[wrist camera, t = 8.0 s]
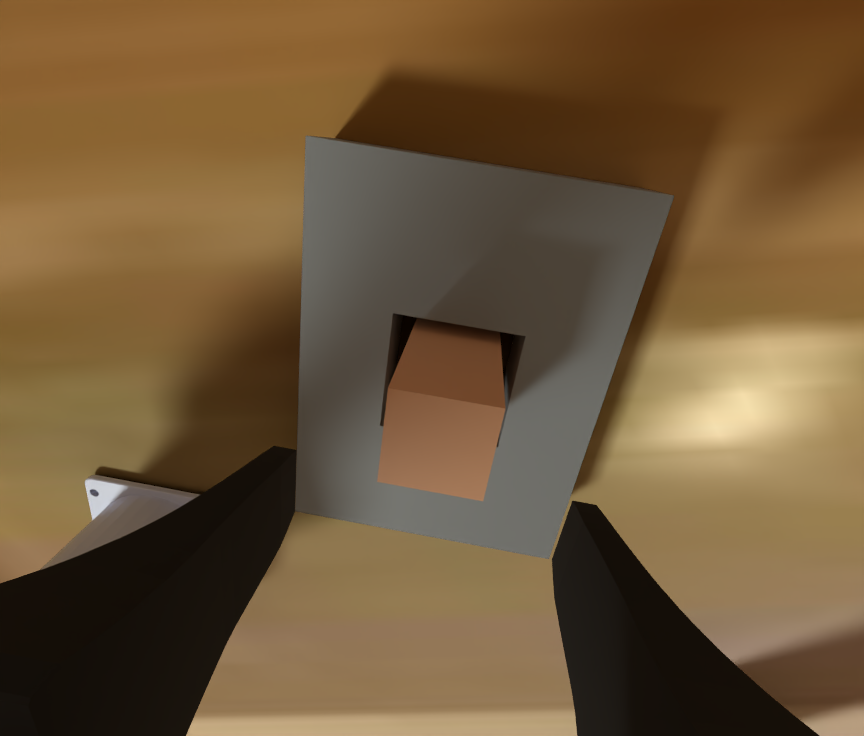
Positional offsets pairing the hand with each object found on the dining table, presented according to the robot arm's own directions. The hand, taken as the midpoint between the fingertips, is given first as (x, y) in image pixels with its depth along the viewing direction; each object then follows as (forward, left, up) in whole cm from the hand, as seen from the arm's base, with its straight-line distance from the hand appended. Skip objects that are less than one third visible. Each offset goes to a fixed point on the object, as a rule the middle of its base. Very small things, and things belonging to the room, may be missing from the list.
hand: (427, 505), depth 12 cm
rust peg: (0, 0, -10) cm, 10 cm away
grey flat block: (0, 0, -10) cm, 10 cm away
